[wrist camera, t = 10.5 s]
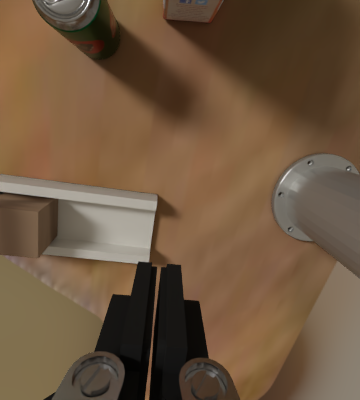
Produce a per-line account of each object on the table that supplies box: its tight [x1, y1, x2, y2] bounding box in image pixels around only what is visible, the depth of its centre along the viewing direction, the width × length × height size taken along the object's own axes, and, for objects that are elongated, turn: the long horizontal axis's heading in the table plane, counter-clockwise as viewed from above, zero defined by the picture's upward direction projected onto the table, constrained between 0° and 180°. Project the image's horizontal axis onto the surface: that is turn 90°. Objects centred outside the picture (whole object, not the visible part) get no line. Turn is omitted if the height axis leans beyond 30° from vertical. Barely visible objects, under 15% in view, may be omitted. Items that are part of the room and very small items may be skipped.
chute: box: [0, 174, 157, 264], centre depth 35 cm, size 20×9×3 cm, turn 81°
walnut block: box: [0, 192, 58, 258], centre depth 32 cm, size 6×6×6 cm
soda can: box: [32, 0, 120, 60], centre depth 24 cm, size 5×5×12 cm
